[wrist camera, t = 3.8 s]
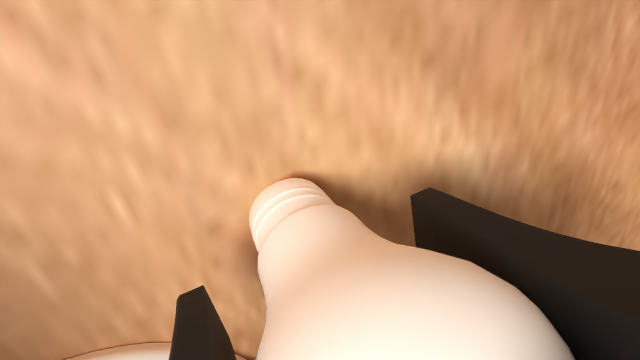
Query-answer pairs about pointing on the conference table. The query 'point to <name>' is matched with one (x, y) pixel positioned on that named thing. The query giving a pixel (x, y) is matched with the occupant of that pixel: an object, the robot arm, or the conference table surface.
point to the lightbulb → (379, 292)
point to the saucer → (133, 352)
